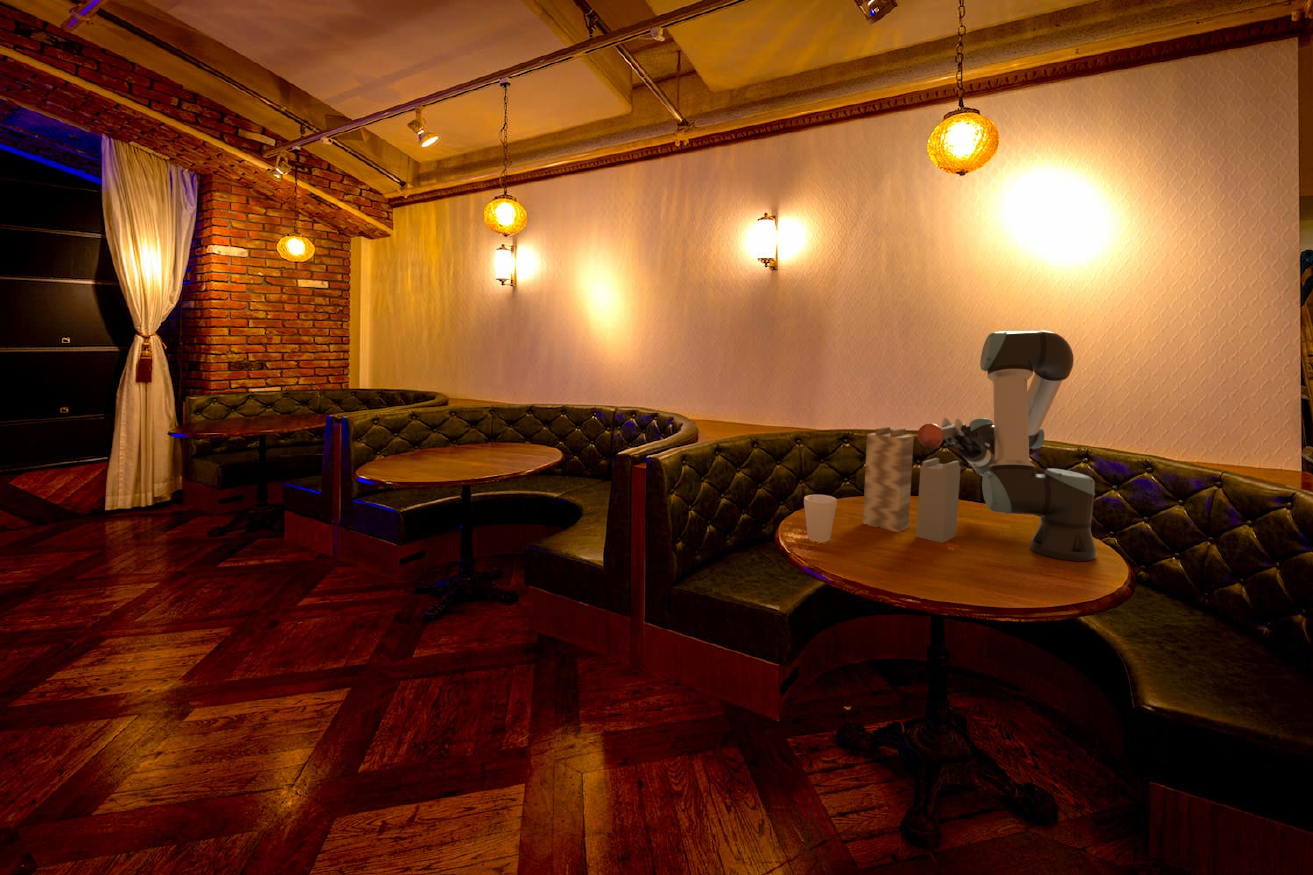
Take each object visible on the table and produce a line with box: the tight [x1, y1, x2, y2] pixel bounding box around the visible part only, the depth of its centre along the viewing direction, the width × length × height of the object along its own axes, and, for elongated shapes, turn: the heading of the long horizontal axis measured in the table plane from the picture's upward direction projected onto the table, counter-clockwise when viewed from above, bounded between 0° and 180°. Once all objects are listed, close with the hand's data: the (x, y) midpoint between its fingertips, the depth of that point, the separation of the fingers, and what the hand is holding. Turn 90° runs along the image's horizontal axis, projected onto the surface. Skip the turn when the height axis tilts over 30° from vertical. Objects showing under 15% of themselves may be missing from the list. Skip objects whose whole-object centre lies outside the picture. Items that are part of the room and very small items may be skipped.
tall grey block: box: [915, 457, 962, 544], centre depth 181 cm, size 8×9×24 cm
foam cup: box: [803, 494, 838, 542], centre depth 179 cm, size 10×9×13 cm
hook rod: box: [917, 423, 967, 449], centre depth 180 cm, size 7×22×7 cm, turn 131°
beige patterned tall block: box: [862, 426, 915, 533], centre depth 192 cm, size 12×7×32 cm, turn 41°
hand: (950, 422), depth 181 cm, fingers closed on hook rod, 3 cm apart
